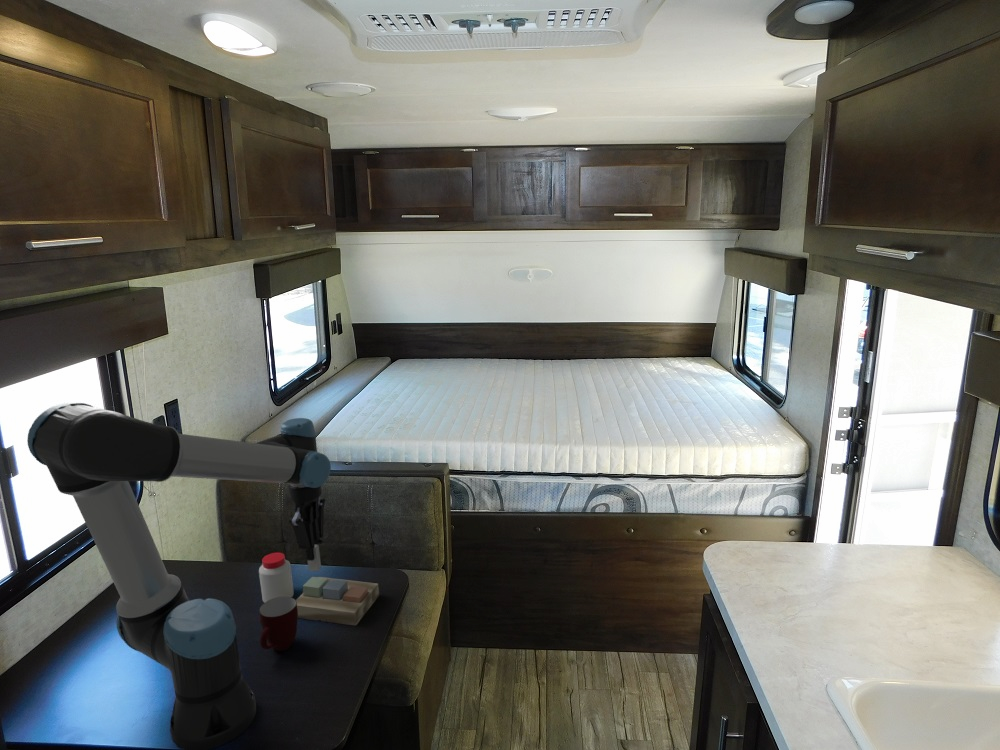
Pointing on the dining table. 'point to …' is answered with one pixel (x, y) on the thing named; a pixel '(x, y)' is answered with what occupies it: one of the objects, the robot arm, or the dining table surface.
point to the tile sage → (314, 587)
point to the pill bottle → (275, 577)
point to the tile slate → (335, 589)
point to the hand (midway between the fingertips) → (314, 569)
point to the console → (337, 605)
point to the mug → (278, 623)
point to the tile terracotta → (355, 594)
